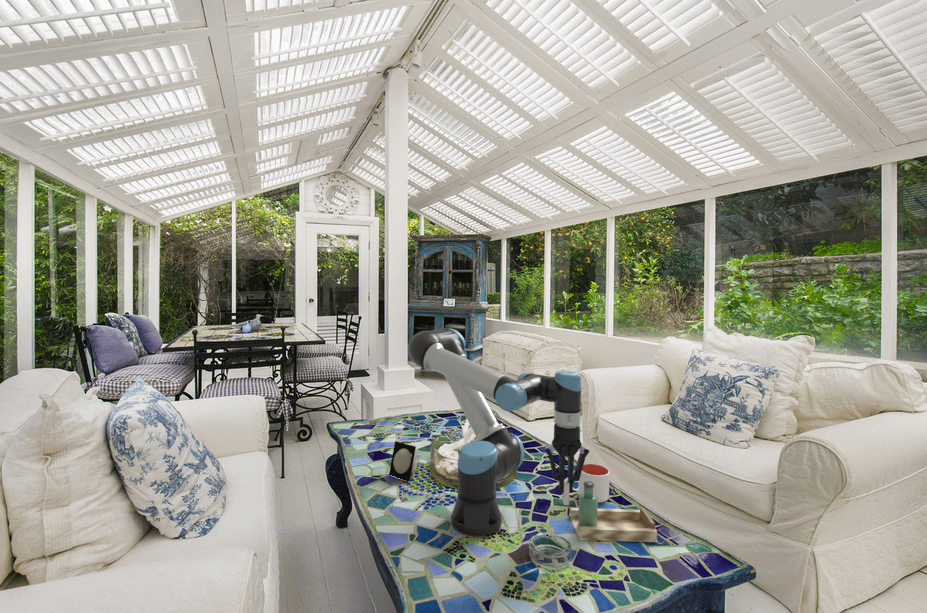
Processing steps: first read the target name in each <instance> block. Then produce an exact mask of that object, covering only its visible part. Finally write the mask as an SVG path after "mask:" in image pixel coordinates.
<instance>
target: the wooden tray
mask: <svg viewBox="0 0 927 613" xmlns="http://www.w3.org/2000/svg"><path fill="white" fill-rule="evenodd" d="M578 511H579V507H569V513H568V515H569V518H570V521H571V522H572V526H573V527H574V530H575V533H576V535H577V537H578V540H579V541H580V540H581V541H607V542H608V541H609V542H611V541H612V542H636V543H637V542H640V543H644V542H645V543H659V541H658V531H657V529H656V523H655V522H656V521H654V519H652V516H650V514H649V513H648V512H647V510H646V509H645V508H644V507H639V509H629V508H628V509H623V508H598V510H597V527H588V526H578Z"/></svg>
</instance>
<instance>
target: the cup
mask: <svg viewBox="0 0 927 613" xmlns="http://www.w3.org/2000/svg"><path fill="white" fill-rule="evenodd" d="M610 474H611V472H610V470H609V469H608V468H607V467H606V466H603V465H600V464H597V463H596V464H595V463H584V465H583V469H582V472H581V476H580V480H579V481H578V487H577V488H578V489H577V492H578V495H579V494H581V493H584V482H585V481H590V482H593V483H594V487H593V494H594V495H596V496H597V497H598V503H604V502H607V501H608V500H609V498H610Z"/></svg>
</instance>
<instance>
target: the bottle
mask: <svg viewBox="0 0 927 613" xmlns="http://www.w3.org/2000/svg"><path fill="white" fill-rule="evenodd" d="M593 487H594V483H593V482H590V481H585V482H584V493H581V494H578V508H579V511H578V526H588V527H597V510H598V509H599V506H598V505H599V504H598V503H599V502H598V497H597V496H596V495H594V494H593Z"/></svg>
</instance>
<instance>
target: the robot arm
mask: <svg viewBox="0 0 927 613" xmlns="http://www.w3.org/2000/svg"><path fill="white" fill-rule="evenodd" d="M466 346H467V344H466V340H465V338H464V337H463V335H462V334H461V333H460V332H459V331H458V330H456V329H453V328H446V327H444V328H443V327H442V328H439V329H431V330H422V331H419V332H417V333H415V334H414V335H413V336H412V337H411V338H410V341H409V342H408V346H407V354H408V356H409V359H410V360H411V361H412V363H414V364H415V365H416V366H418V367H419V368H420V369H423V370H425V371H427V372H434V371H435V372H437V373H439V374H441V375H443V376H444V378H445V380H446V381H447V384H448V385H449V388H450V389H451V391H452V393H453V396H454V397H455V399H456V400H457V402H458V404H459V406H460V408H461V410H462V412H463V413H464V416H465V418H466V419H467V421H468V424H469V425H470V427H471V429H472V431H473V434H474V436H475V441H470V442H468V443H465V444H464V445H463V446H461V448H460V449H459V452H458V457H457V458H458V459H457V497H456V500H455V503H454V507H453V509H452V513H451V521H450V522H451V526H452V528H453V529H454V530H455V531H456V532H459V533H460V534H462V535H466V536H468V537H469V536H471V537H484V536H490V535H493V534H495V533H497V531H499V530H500V529H501V526H502V513H501V511H500V507H499V504H498V503H499V502H498V501H497V482H499V481H500V480H502V479H503V478H505V477H506V476H508V475H509V474H512V473H513V472H515V471H517V469H518V468H519V467H520V466H521V465H522V464H523V462H524V458H525V447H524V443H523V442H522V440H521V438H519V436H518V435H516V434H513V433H511V432H509V431H508V429H507V427H506V426H505V425H503V424H501V423H499V422H498V420H497V418H496V415H494V413H493V411H492V409H491V407H490V405H489V404H488V402H487V399H486V398H485V396H487V397H490V398H491V399H493V400H495V402H496V404H497V405H498V406H499V408H500V409H501V410H503V411H505V412H512V411H517V410H519V409H522V408H524V407H526V406H528V405H530V404H533V403H535V402H537V401H541V402H542V401H543V402H549V403H553V405H554V409H553V410H554V411H553V412H554V414H553V422H554V425H553V439H552V440H551V441H552V442H551V444H549V445H544V450H545V453H546V454H547V456H548V459H549V464H550V469H551V473H552V476H553V480H554V481H557V482H558V490H559V493H561V494H562V496H561V500H562V501H561V502H562V503H563V506H570V494H573V492H574V491H573V490H574V489H573V488H574V483H575V482H576V481H577V482H579V480H580V476H581V472H582V469H583V465H584V464H585V460H586V457H587V456H588V454H589V453H590V450H589V448H588V447H587V446H584V445H583V444H582V442H581V426H580V425H581V405H582V404H581V402H582V380H581V379H582V377H581V375H580V374H579V373H578V372H576V371H571V370H558V371H556V372H555V374H554V376H550V375H542V374H537V373H532V372H530V373H527V372H524V373H521V374H520V375H519V376H518V377H517V379H514V378H512V377H509V376H506V375H505V374H502V373H500V372H498V371H495V370H493V369H492V368H489V367H487V366H484V365H482V364H480V363H477V362H475V361H472V360H470V359H468V358H467V355H466V353H465V352H466V350H467V349H466ZM484 395H485V396H484ZM554 450H555V451H556V453H557V454H558V458H559V459H558V460H559V461H558V471H557V467H556V463H555V459H554V454H553V453H554ZM578 452H579V455H578V459H577V463H576V466H575V463H574V462H575V456H576V454H577V453H578ZM566 457H567V479H565V474H566V473H565V471H566V470H565V468H566ZM574 466H575V469H574Z"/></svg>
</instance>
